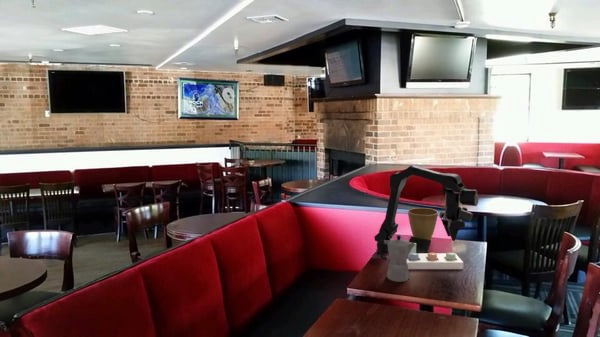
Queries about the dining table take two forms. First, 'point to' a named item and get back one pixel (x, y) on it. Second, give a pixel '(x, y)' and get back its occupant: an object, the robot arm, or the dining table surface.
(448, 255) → the sage green button
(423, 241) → the handheld gaming console
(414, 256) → the slate blue button
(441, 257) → the button panel
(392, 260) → the coffeepot
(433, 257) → the terracotta button
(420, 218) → the plant pot
